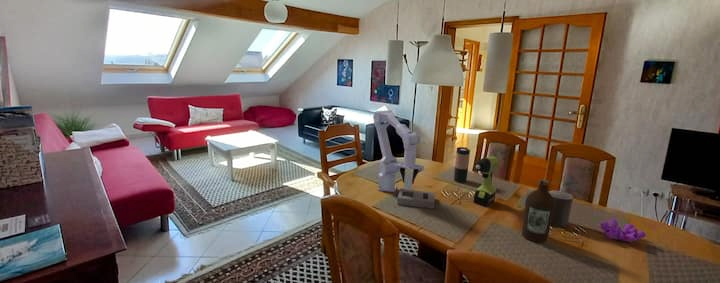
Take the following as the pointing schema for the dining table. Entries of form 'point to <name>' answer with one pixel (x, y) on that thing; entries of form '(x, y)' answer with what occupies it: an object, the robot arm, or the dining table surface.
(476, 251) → the dining table surface
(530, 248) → the dining table surface
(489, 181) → the cordless drill
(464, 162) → the travel mug
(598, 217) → the dining table surface
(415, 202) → the socket block
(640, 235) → the purple coral
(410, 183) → the square peg
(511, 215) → the dining table surface
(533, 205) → the olive oil
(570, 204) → the pillar candle
